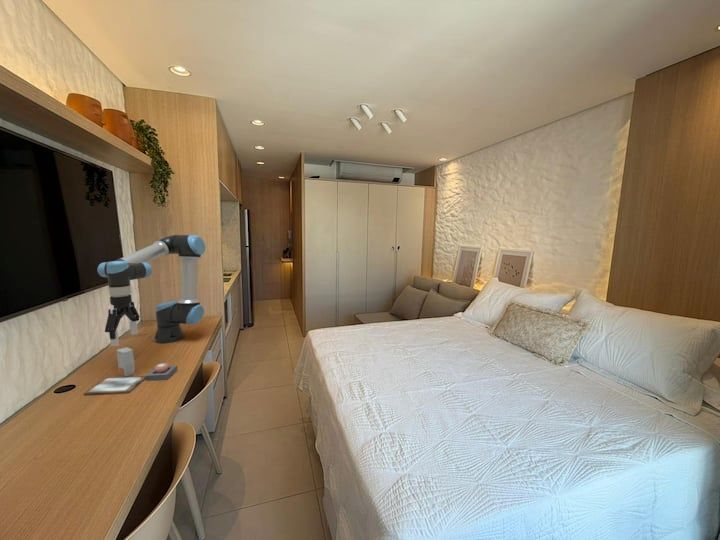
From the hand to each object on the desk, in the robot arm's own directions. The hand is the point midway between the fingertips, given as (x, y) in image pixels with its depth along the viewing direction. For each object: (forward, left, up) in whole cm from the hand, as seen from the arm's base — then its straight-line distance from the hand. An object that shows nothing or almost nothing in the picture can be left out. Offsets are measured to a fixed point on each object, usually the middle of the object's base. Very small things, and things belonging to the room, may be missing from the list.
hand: (125, 339), depth 133 cm
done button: (+3, +16, -15) cm, 22 cm away
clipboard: (+11, +2, -17) cm, 20 cm away
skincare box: (0, -1, -17) cm, 17 cm away
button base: (+3, +16, -17) cm, 24 cm away
